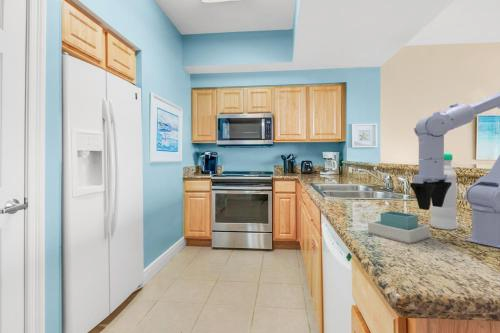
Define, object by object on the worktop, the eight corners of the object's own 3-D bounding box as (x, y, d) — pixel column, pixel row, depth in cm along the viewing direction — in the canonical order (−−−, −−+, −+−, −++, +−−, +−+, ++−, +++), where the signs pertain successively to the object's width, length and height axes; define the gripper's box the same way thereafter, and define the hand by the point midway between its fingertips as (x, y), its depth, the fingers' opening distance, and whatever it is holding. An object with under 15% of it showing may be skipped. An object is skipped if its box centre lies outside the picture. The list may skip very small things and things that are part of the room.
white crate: (388, 228, 84) (388, 218, 84) (429, 237, 74) (429, 225, 74) (368, 233, 79) (368, 222, 79) (409, 244, 68) (409, 231, 68)
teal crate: (391, 229, 81) (390, 210, 81) (417, 235, 74) (417, 215, 74) (380, 232, 78) (380, 212, 78) (407, 238, 71) (407, 217, 71)
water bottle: (461, 230, 81) (462, 153, 80) (436, 229, 82) (437, 153, 82) (449, 225, 88) (449, 153, 87) (426, 224, 89) (426, 154, 89)
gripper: (427, 159, 77) (427, 203, 77) (401, 159, 70) (401, 208, 70) (455, 159, 71) (455, 207, 71) (430, 159, 64) (430, 212, 64)
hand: (430, 208), depth 70 cm, fingers open, 7 cm apart
